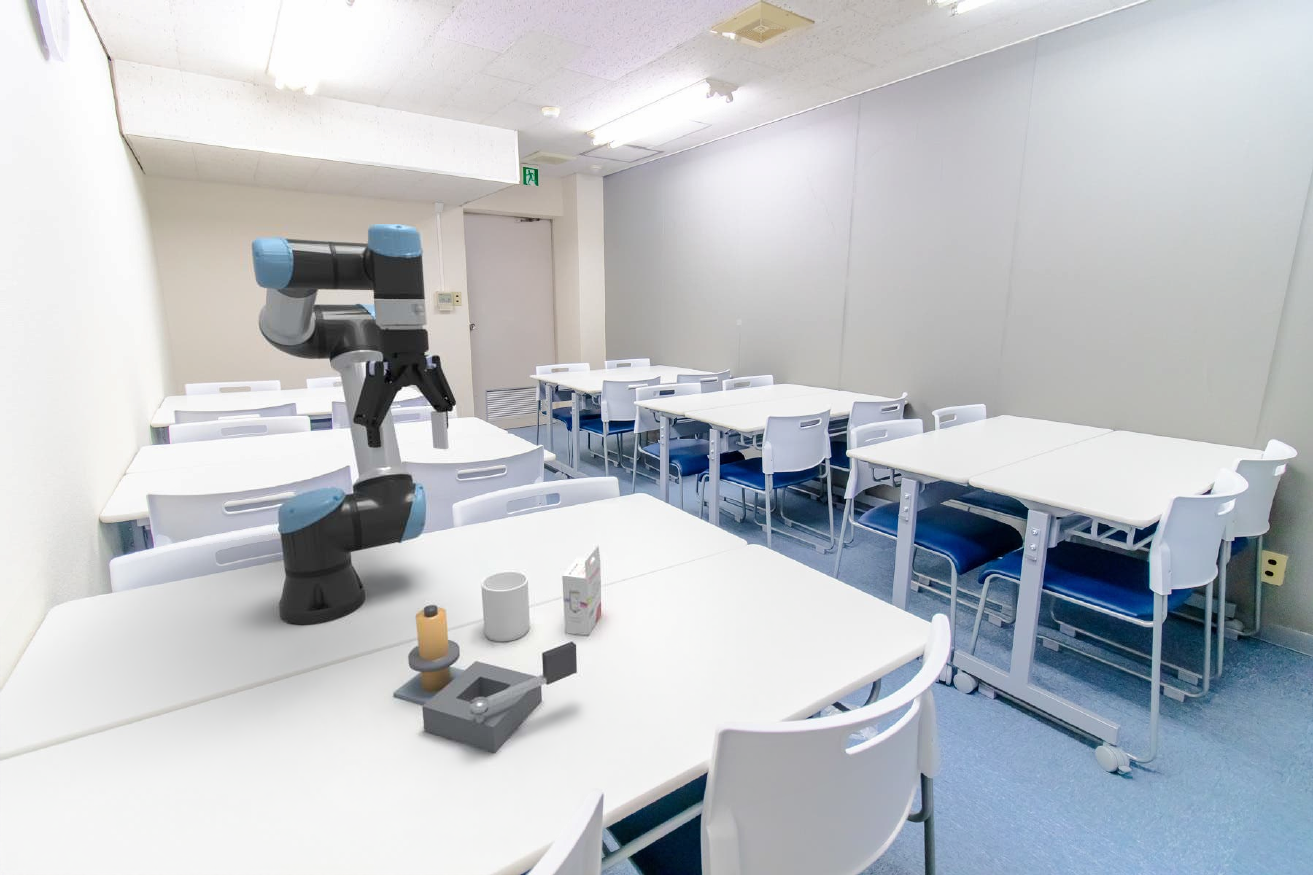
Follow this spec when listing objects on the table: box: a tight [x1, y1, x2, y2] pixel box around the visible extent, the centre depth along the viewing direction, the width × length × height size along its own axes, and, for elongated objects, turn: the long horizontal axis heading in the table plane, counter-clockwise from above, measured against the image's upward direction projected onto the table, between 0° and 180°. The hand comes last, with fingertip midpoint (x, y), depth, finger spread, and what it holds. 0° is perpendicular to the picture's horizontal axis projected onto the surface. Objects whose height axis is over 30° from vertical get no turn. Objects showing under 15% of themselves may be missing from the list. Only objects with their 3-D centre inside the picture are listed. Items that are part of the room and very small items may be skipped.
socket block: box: [421, 660, 543, 754], centre depth 89 cm, size 12×12×5 cm
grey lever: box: [470, 641, 578, 715], centre depth 86 cm, size 2×16×5 cm, turn 129°
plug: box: [407, 604, 461, 691], centre depth 95 cm, size 8×8×13 cm
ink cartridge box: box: [561, 545, 602, 636], centre depth 114 cm, size 9×5×15 cm, turn 168°
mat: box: [392, 665, 466, 706], centre depth 96 cm, size 9×9×1 cm
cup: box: [480, 570, 531, 643], centre depth 114 cm, size 8×12×10 cm
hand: (413, 457), depth 101 cm, fingers open, 13 cm apart
